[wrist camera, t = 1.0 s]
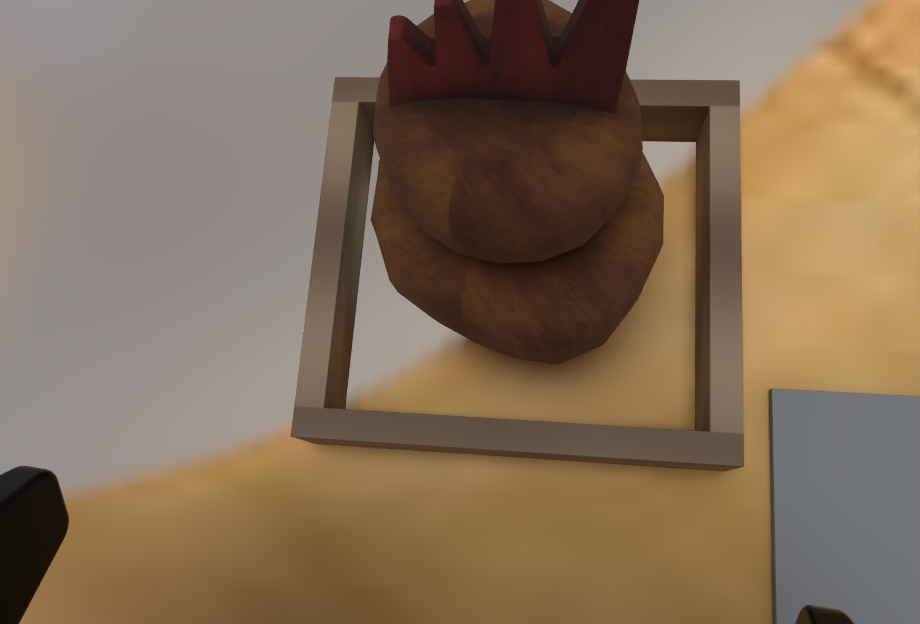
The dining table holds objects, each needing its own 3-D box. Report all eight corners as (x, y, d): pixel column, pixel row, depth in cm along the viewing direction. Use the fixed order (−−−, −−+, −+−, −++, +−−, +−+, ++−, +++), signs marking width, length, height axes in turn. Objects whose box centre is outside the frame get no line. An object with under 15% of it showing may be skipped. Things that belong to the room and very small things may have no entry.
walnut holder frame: (725, 471, 22) (743, 466, 20) (314, 443, 23) (290, 436, 21) (722, 118, 24) (739, 80, 22) (352, 113, 26) (335, 77, 24)
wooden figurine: (668, 237, 24) (853, -201, 9) (588, 413, 23) (656, 232, 8) (464, 154, 25) (346, -339, 11) (380, 316, 24) (123, 16, 10)
